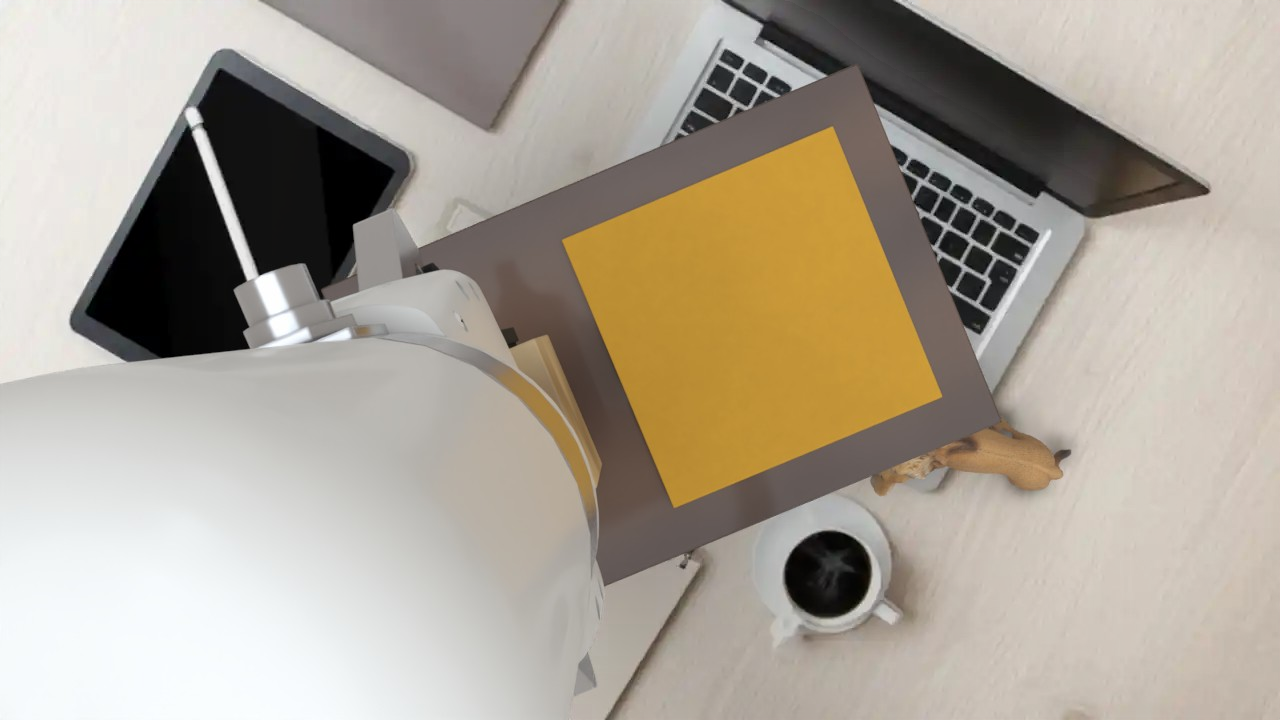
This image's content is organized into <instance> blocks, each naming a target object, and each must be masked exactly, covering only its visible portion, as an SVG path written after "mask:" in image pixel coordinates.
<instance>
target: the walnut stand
mask: <svg viewBox="0 0 1280 720" xmlns="http://www.w3.org/2000/svg"><path fill="white" fill-rule="evenodd" d="M879 115H880V114H879V113H878V110H877V108H876V105H875V102H874V99H873V97H872V94H871V92H870V90H869V88H868V85H867V83H866V81H865V78H864V75H863V73H862V71H861V68H860V66H859V64H858V63H855V64H852V65H851V66H848V67H845V68H843V69H840V70H838V71H836V72H834V73H831V74H829V75H827V76H824V77H822V78H819V79H817V80H814V81H812V82H810V83H807V84H805V85H802V86H801V87H798V88H796V89H794V90H791V91H788V92H786V93H784V94H781V95H779V96H776V97H774V98H771V99H770V100H767V101H765V102H763V103H759V104H758V105H755V106H753V107H751V108H748V109H746V110H744V111H741V112H739V113H736V114H734V115H731V116H728V117H727V118H724V119H722V120H719V121H717V122H715V123H713V124H710V125H708V126H705V127H703V128H701V129H700V128H699V129H698V130H696V131H693V132H690V133H689V134H686V135H683V136H681V137H679V138H676V139H674V140H672V141H669V142H667V143H665V144H662V145H660V146H658V147H655V148H653V149H650V150H648V151H645V152H643V153H641V154H638V155H636V156H634V157H631V158H629V159H627V160H624V161H622V162H619V163H617V164H615V165H612V166H610V167H608V168H605V169H602V170H600V171H598V172H596V173H593V174H591V175H588V176H586V177H584V178H582V179H579V180H577V181H575V182H572V183H570V184H567V185H564V186H563V187H560V188H558V189H555V190H553V191H551V192H548V193H546V194H543V195H541V196H538V197H537V198H534V199H532V200H529V201H527V202H524V203H522V204H520V205H517V206H515V207H512V208H511V209H508V210H505V211H503V212H501V213H498V214H495V215H493V216H491V217H489V218H487V219H484V220H481V221H479V222H476V223H474V224H472V225H470V226H468V227H465V228H462V229H460V230H457V231H455V232H453V233H451V234H449V235H446V236H443V237H441V238H439V239H436V240H434V241H431V242H430V243H427V244H424V245H422V246H420V247H417V248H418V249H419V251H420V253H421V256H422V262H423V266H425V265H428V264H430V263H434V264H435V265H436V266H437V267H438V268H439V270H454V271H457V272H460V273H462V274H464V275H466V276H468V277H470V278H471V279H472V280H474V281H475V282H476V283H477V284H478V286H479V287H480V289H481V291H482V293H483V295H484V297H485V299H486V301H487V303H488V305H489V307H490V309H491V311H492V314H493V316H494V318H495V320H496V322H497V324H498V326H499V329H500V330H501V329H506V328H512V327H513V328H514V330H515V332H516V335H517V337H518V339H519V341H517V342H516V344H517V345H519V344H522V343H524V342H527V341H529V340H531V339H534V338H537V337H541V336H544V335H548V337H549V339H550V341H551V344H552V346H553V348H554V351H555V353H556V355H557V358H558V360H559V363H560V365H561V367H562V370H563V372H564V374H565V377H566V379H567V382H568V384H569V386H570V389H571V391H572V393H573V396H574V398H575V401H576V403H577V405H578V408H579V410H580V412H581V415H582V417H583V420H584V422H585V424H586V427H587V429H588V431H589V434H590V436H591V439H592V441H593V443H594V446H595V448H596V450H597V453H598V455H599V458H600V460H601V462H602V466H601V471H600V476H599V480H598V485H597V488H596V496H597V503H598V511H599V537H598V547H597V554H596V561H597V564H598V566H599V569H600V572H601V576H602V579H603V584H604V588H605V587H607V586H609V585H612V584H614V583H617V582H619V581H621V580H624V579H626V578H629V577H631V576H633V575H634V576H635V575H636V574H638V573H641V572H643V571H645V570H648V569H651V568H654V567H655V566H658V565H660V564H663V563H665V562H668V561H670V560H673V559H675V558H677V557H679V556H680V557H681V556H682V555H684V554H687V553H689V552H692V551H694V550H696V549H699V548H701V547H704V546H706V545H708V544H711V543H714V542H716V541H718V540H721V539H724V538H725V537H728V536H730V535H733V534H735V533H738V532H740V531H743V530H744V529H748V528H750V527H752V526H754V525H757V524H760V523H761V522H764V521H766V520H769V519H771V518H774V517H776V516H778V515H781V514H783V513H785V512H788V511H791V510H793V509H796V508H798V507H801V506H803V505H805V504H808V503H810V502H812V501H815V500H818V499H820V498H823V497H824V496H826V495H829V494H832V493H834V492H838V491H839V490H841V489H844V488H846V487H849V486H851V485H854V484H856V483H858V482H861V481H863V480H866V479H868V478H871V477H872V476H873V475H875V474H878V473H880V472H883V471H885V470H887V469H890V468H892V467H895V466H897V465H900V464H902V463H904V462H907V461H909V460H912V459H914V458H916V457H919V456H921V455H924V454H926V453H929V452H931V451H933V450H936V449H938V448H941V447H943V446H946V445H948V444H950V443H953V442H955V441H958V440H960V439H962V438H965V437H967V436H970V435H972V434H975V433H977V432H979V431H982V430H984V429H990V427H991V426H994V425H996V424H999V423H1001V422H1002V420H1001V418H1002V417H1001V415H1000V413H999V409H998V407H997V405H996V402H995V401H994V397H993V395H992V392H991V390H990V388H989V385H988V383H987V380H986V378H985V375H984V373H983V371H982V368H981V366H980V363H979V360H978V357H977V356H976V352H975V351H974V348H973V345H972V343H971V341H970V338H969V335H968V333H967V330H966V328H965V326H964V323H963V320H962V318H961V316H960V313H959V311H958V308H957V306H956V304H955V300H954V298H953V295H952V293H951V291H950V288H949V285H948V284H947V283H948V282H947V281H946V278H945V276H944V274H943V271H942V268H941V266H940V264H939V260H938V258H937V256H936V253H935V252H934V248H933V247H932V244H931V241H930V239H929V237H928V233H927V232H926V231H927V230H925V227H924V224H923V221H922V219H921V216H920V214H919V212H918V209H917V207H916V204H915V202H914V199H913V197H912V194H911V192H910V190H909V187H908V185H907V182H906V179H905V177H904V174H903V172H902V170H901V167H900V164H899V162H898V159H897V158H896V157H897V156H896V155H895V152H894V150H893V148H892V144H891V143H890V140H889V137H888V135H887V133H886V130H885V127H884V125H883V123H882V120H881V118H880V116H879ZM831 126H833V128H834V130H835V132H836V135H837V137H838V140H839V142H840V145H841V147H842V150H843V152H844V155H845V157H846V160H847V162H848V165H849V167H850V169H851V172H852V174H853V177H854V179H855V182H856V184H857V187H858V189H859V192H860V194H861V197H862V199H863V202H864V204H865V206H866V209H867V211H868V214H869V216H870V219H871V221H872V224H873V226H874V229H875V231H876V234H877V236H878V238H879V241H880V243H881V246H882V248H883V251H884V253H885V256H886V258H887V261H888V263H889V266H890V268H891V271H892V273H893V275H894V278H895V280H896V283H897V285H898V288H899V290H900V293H901V295H902V298H903V300H904V303H905V305H906V308H907V310H908V312H909V315H910V317H911V320H912V322H913V325H914V327H915V330H916V332H917V335H918V337H919V340H920V342H921V344H922V347H923V349H924V352H925V354H926V357H927V359H928V362H929V364H930V367H931V369H932V372H933V374H934V377H935V379H936V381H937V384H938V386H939V389H940V391H941V394H942V398H939V399H937V400H934V401H932V402H930V403H927V404H925V405H922V406H920V407H918V408H915V409H913V410H910V411H908V412H905V413H903V414H901V415H898V416H896V417H893V418H891V419H889V420H886V421H884V422H881V423H879V424H877V425H874V426H872V427H869V428H867V429H864V430H862V431H860V432H857V433H855V434H852V435H850V436H848V437H845V438H843V439H840V440H838V441H836V442H833V443H831V444H828V445H826V446H823V447H821V448H819V449H816V450H814V451H811V452H809V453H807V454H804V455H802V456H799V457H797V458H795V459H792V460H790V461H787V462H785V463H782V464H780V465H778V466H775V467H773V468H770V469H768V470H766V471H763V472H761V473H758V474H756V475H753V476H751V477H749V478H746V479H744V480H741V481H739V482H737V483H734V484H732V485H729V486H727V487H725V488H722V489H720V490H717V491H715V492H712V493H710V494H708V495H705V496H703V497H700V498H698V499H696V500H693V501H691V502H688V503H686V504H684V505H681V506H679V507H676V508H674V507H673V505H672V503H671V500H670V498H669V495H668V493H667V491H666V488H665V486H664V484H663V481H662V479H661V476H660V474H659V472H658V469H657V467H656V464H655V462H654V460H653V457H652V455H651V453H650V450H649V448H648V445H647V443H646V441H645V438H644V436H643V433H642V431H641V429H640V426H639V424H638V422H637V419H636V417H635V414H634V412H633V410H632V407H631V405H630V402H629V400H628V398H627V395H626V393H625V391H624V388H623V386H622V383H621V381H620V379H619V376H618V374H617V371H616V369H615V367H614V364H613V362H612V359H611V357H610V355H609V352H608V350H607V348H606V345H605V343H604V340H603V338H602V336H601V333H600V331H599V328H598V326H597V324H596V321H595V319H594V317H593V314H592V312H591V309H590V307H589V305H588V302H587V300H586V297H585V295H584V293H583V290H582V288H581V286H580V283H579V281H578V278H577V276H576V274H575V271H574V269H573V266H572V264H571V262H570V259H569V257H568V255H567V252H566V250H565V247H564V245H563V243H562V239H564V238H567V237H569V236H572V235H574V234H576V233H579V232H581V231H584V230H586V229H588V228H591V227H593V226H595V225H598V224H600V223H603V222H605V221H607V220H610V219H612V218H615V217H617V216H619V215H622V214H624V213H626V212H629V211H631V210H634V209H636V208H638V207H641V206H643V205H646V204H648V203H650V202H653V201H655V200H657V199H660V198H662V197H665V196H667V195H669V194H672V193H674V192H677V191H679V190H681V189H684V188H686V187H688V186H691V185H693V184H696V183H698V182H700V181H703V180H705V179H707V178H710V177H712V176H715V175H717V174H719V173H722V172H724V171H727V170H729V169H731V168H734V167H736V166H738V165H741V164H743V163H746V162H748V161H750V160H753V159H755V158H758V157H760V156H762V155H765V154H767V153H769V152H772V151H774V150H777V149H779V148H781V147H784V146H786V145H789V144H791V143H793V142H796V141H798V140H800V139H803V138H805V137H808V136H810V135H812V134H815V133H817V132H820V131H822V130H824V129H827V128H829V127H831ZM320 291H321V293H322V297H323V298H324V300H325V299H328V300H330V302H332V301H334V300H337V299H340V298H343V297H346V296H349V295H352V294H355V293H358V292H359V286H358V275H357V273H355V274H352V275H351V276H348V277H346V278H344V279H341V280H339V281H337V282H334V283H332V284H329V285H327V286H324V287H322V288H321V289H320Z"/></svg>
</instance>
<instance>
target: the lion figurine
mask: <svg viewBox="0 0 1280 720" xmlns="http://www.w3.org/2000/svg"><path fill="white" fill-rule="evenodd" d="M1001 420H1002V422H1001V423H999V424H996V425H994V426H991V427H989V428H987V429H984V430H982V431H979V432H977V433H975V434H972V435H970V436H967V437H965V438H962V439H960V440H958V441H955V442H953V443H950V444H948V445H946V446H943V447H941V448H938V449H936V450H933V451H931V452H929V453H926V454H924V455H921V456H919V457H916V458H914V459H912V460H909V461H907V462H904V463H902V464H900V465H897V466H895V467H892V468H890V469H887V470H885V471H883V472H880V473H878V474H875V475H873V476H871V477H870V481H869V483H870V485H871V487H872V488H873V491H874V493H875V494H876V495H877V496H879V497H886V496H887V495H888V494H889V493H890V492H892V491H893V489H894V487H895V486H896V484H904V483H906V482H907V481H909V480H910V479H920V480H926V479H927V477H926V476H929V474H930V473H931V472H934V471H935V470H937V469H938V470H939V469H943V468H946V467H947V468H950V469H953V470H957V471H960V472H964V473H975V474H988V475H989V474H990V475H991V474H993V475H994V474H995V475H1002V476H1006V478H1007V480H1008V481H1009V483H1010V484H1011V486H1014V487H1016V488H1018V489H1020V490H1022V491H1027V492H1033V491H1040V490H1044V489H1046V488H1047V487H1048V486H1050V485H1049V484H1050V482H1051V481H1057V480H1061V479H1062V478H1063V477H1064V471H1063V470H1062V469H1061V467H1060V464H1061V462H1062V461H1063V460H1064V459H1067V458H1069V457H1070V456H1071V455H1072V449H1069V448H1068V449H1060V450H1058V451H1057V452H1055V454H1053V451H1051V450H1050V448H1048V446H1047V445H1046V444H1045V443H1044V442H1043V441H1041V440H1039V439H1038V438H1036V437H1034V436H1032V435H1030V434H1026V433H1023V432H1021V431H1018V430H1016V429H1014V428H1013V427H1012V426H1011V425H1010V423H1009V422H1008V421H1007V420H1005V419H1004V418H1003V417H1001Z"/></svg>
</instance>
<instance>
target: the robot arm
mask: <svg viewBox="0 0 1280 720" xmlns="http://www.w3.org/2000/svg"><path fill="white" fill-rule="evenodd" d="M352 232H353V240H354V241H353V243H354V252H355V254H354V255H355V264H356V265H355V266H356V274H357V275H358V286H359V292H358V293H355V294H352V295H349V296H346V297H343V298H340V299H337V300H334V301H332V302H330V300H328V299H325V298H324V299H321V297H320V295H319V292H318V291H317V288H316V285H315V283H314V281H313V279H312V276H311V274H310V271H309V269H308V267H307V265H306V263H297V264H290V265H286V266H284V267H283V266H282V267H280V268H277V269H274V270H271V271H268V272H265V273H263V274H261V275H257V276H256V277H253V278H251V279H249V280H247V281H245V282H243V283H242V284H239V285H237V286H236V287H235V288H234V289H233V292H234V295H235V297H236V300H237V302H238V304H239V307H240V308H241V311H242V314H243V315H244V319H245V321H246V323H247V325H248V328H246V329H245V330H243V331H242V333H243V336H244V338H245V340H246V342H247V344H248V347H249V348H247V349H237V350H230V351H220V352H211V353H202V354H193V355H192V354H191V355H182V356H174V357H173V356H172V357H164V358H155V359H147V360H138V361H128V362H127V361H126V362H118V363H109V364H99V365H92V366H83V367H77V368H71V369H65V370H59V371H55V372H48V373H43V374H39V375H34V376H30V377H25V378H22V379H16V380H11V381H6V382H2V383H0V720H570V718H571V712H572V706H573V701H574V700H573V699H574V697H576V696H580V695H581V694H584V693H586V692H588V691H591V690H595V689H596V688H598V682H597V677H596V674H595V670H594V668H593V664H592V660H591V657H590V654H589V651H590V649H591V648H592V646H593V644H594V641H595V639H596V637H597V635H598V632H599V629H600V626H601V623H602V619H603V614H604V606H605V587H604V584H603V579H602V576H601V572H600V569H599V566H598V564H597V561H596V554H597V547H598V537H599V511H598V503H597V496H596V489H595V484H594V480H593V477H592V473H591V469H590V466H589V462H588V460H587V457H586V455H585V452H584V450H583V447H582V445H581V443H580V441H579V439H578V437H577V435H576V433H575V431H574V429H573V428H572V426H571V425H570V424H569V422H568V421H567V419H566V418H565V416H564V415H563V413H562V412H561V410H560V409H559V407H558V406H557V405H556V403H555V402H554V401H553V400H552V399H551V397H550V396H549V395H548V394H547V393H546V392H545V391H544V390H543V389H542V388H541V387H540V386H539V385H538V384H536V383H535V382H534V381H533V380H532V379H531V378H529V377H528V376H527V375H525V374H524V373H523V372H521V371H520V370H519V369H518V367H517V364H516V362H515V360H514V358H513V356H512V354H511V352H510V348H512V347H515V346H517V344H516V342H517V341H519V339H518V337H517V335H516V332H515V330H514V328H513V327H512V328H506V329H501V330H500V329H499V326H498V324H497V322H496V320H495V318H494V316H493V314H492V311H491V309H490V307H489V305H488V303H487V301H486V299H485V297H484V295H483V293H482V291H481V289H480V287H479V286H478V284H477V283H476V282H475V281H474V280H472V279H471V278H470V277H468V276H466V275H464V274H462V273H460V272H457V271H454V270H439V268H438V267H437V266H436V265H435V264H434V263H430V264H428V265H425V266H423V262H422V256H421V253H420V251H419V249H418V248H419V247H418V246H417V244H416V242H415V241H414V239H413V237H412V235H411V234H410V232H409V230H408V228H407V227H406V225H405V223H404V222H403V219H402V218H401V216H400V215H399V213H398V211H397V209H396V208H394V207H392V208H389V209H386V210H384V211H382V212H380V213H377V214H374V215H373V216H370V217H368V218H365V219H363V220H360V221H357V222H356V223H353V225H352Z"/></svg>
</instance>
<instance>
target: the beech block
mask: <svg viewBox="0 0 1280 720" xmlns="http://www.w3.org/2000/svg"><path fill="white" fill-rule="evenodd" d="M510 352H511V354H512V356H513V358H514V360H515V362H516V364H517V367H518V369H519V370H520V371H521V372H523V373H524V374H525V375H527V376H528V377H529V378H531V379H532V380H533V381H534V382H535V383H536V384H538V385H539V386H540V387H541V388H542V389H543V390H544V391H545V392H546V393H547V394H548V395H549V396H550V397H551V399H552V400H553V401H554V402H555V403H556V405H557V406H558V407H559V409H560V410H561V412H562V413H563V415H564V416H565V418H566V419H567V421H568V422H569V424H570V425H571V426H572V428H573V429H574V431H575V433H576V435H577V437H578V439H579V441H580V443H581V445H582V447H583V450H584V452H585V455H586V457H587V460H588V462H589V466H590V469H591V473H592V477H593V480H594V484H595V489H596V488H597V485H598V480H599V476H600V471H601V466H602V462H601V460H600V458H599V455H598V453H597V450H596V448H595V446H594V443H593V441H592V439H591V436H590V434H589V431H588V429H587V427H586V424H585V422H584V420H583V417H582V415H581V412H580V410H579V408H578V405H577V403H576V401H575V398H574V396H573V393H572V391H571V389H570V386H569V384H568V382H567V379H566V377H565V374H564V372H563V370H562V367H561V365H560V363H559V360H558V358H557V355H556V353H555V351H554V348H553V346H552V344H551V341H550V339H549V337H548V335H544V336H541V337H537V338H534V339H531V340H529V341H527V342H524V343H522V344H519V345H517V346H515V347H512V348H510Z"/></svg>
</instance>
